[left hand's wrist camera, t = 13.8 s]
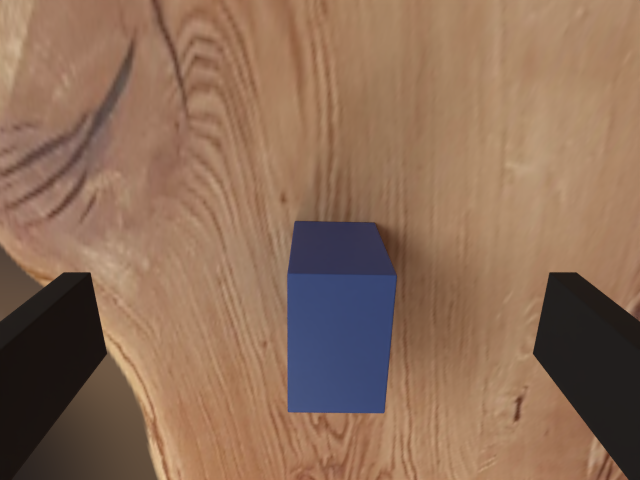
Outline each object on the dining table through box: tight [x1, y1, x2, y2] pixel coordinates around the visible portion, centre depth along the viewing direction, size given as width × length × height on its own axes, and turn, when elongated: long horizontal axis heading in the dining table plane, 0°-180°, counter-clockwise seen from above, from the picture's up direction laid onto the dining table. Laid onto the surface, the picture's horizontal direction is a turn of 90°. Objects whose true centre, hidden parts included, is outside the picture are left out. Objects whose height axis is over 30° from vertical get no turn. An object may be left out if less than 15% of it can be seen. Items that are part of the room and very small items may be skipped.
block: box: [287, 221, 397, 413], centre depth 27 cm, size 5×8×9 cm, turn 179°
